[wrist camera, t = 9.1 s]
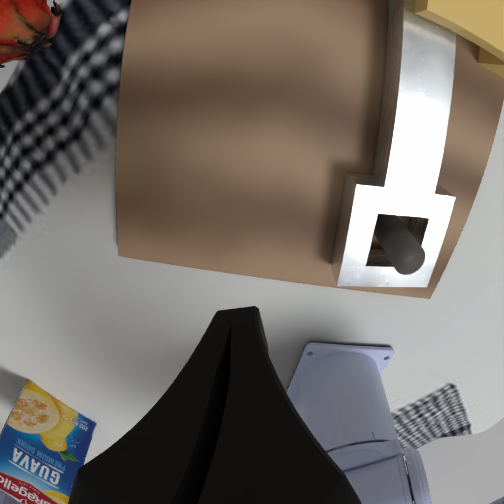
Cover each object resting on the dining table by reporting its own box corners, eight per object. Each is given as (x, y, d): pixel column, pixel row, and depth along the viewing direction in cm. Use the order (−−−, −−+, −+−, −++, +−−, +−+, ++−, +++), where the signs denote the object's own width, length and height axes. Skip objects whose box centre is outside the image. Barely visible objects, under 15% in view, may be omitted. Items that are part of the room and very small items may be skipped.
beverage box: (81, 432, 37) (46, 555, 18) (19, 392, 34) (-31, 515, 15) (97, 423, 35) (59, 564, 16) (27, 378, 31) (-31, 520, 12)
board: (424, 290, 22) (451, 336, 18) (123, 248, 21) (94, 293, 16) (504, 34, 12) (555, 37, 8) (152, -59, 10) (120, -92, 6)
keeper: (504, 78, 13) (551, 89, 9) (388, 21, 12) (426, 9, 8) (509, 38, 11) (556, 42, 7) (394, -24, 11) (432, -45, 7)
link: (415, 269, 20) (426, 287, 18) (330, 266, 20) (337, 286, 18) (459, 9, 11) (478, 5, 9) (361, -22, 11) (373, -33, 9)
